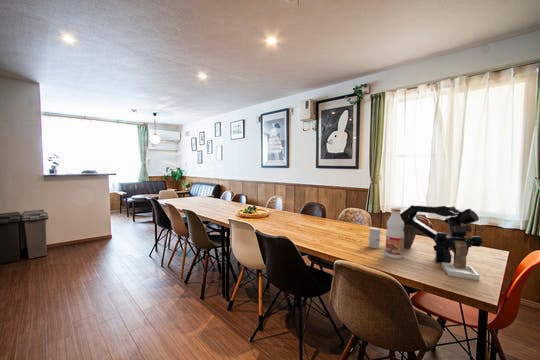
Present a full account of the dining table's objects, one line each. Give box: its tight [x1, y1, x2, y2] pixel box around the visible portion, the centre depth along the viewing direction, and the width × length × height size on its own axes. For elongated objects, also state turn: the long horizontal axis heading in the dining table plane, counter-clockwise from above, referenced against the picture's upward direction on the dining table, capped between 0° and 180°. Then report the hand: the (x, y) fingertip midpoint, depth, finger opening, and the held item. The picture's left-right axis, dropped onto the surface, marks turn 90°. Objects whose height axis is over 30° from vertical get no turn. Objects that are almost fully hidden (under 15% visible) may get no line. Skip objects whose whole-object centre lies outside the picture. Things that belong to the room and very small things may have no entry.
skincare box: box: [368, 227, 381, 249], centre depth 163 cm, size 6×4×12 cm
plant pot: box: [403, 223, 418, 249], centre depth 164 cm, size 15×15×16 cm
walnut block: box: [452, 241, 468, 269], centre depth 123 cm, size 4×4×12 cm
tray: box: [441, 262, 480, 281], centre depth 123 cm, size 12×12×2 cm
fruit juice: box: [385, 207, 405, 260], centre depth 145 cm, size 9×9×28 cm
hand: (460, 254), depth 121 cm, fingers closed on walnut block, 4 cm apart
